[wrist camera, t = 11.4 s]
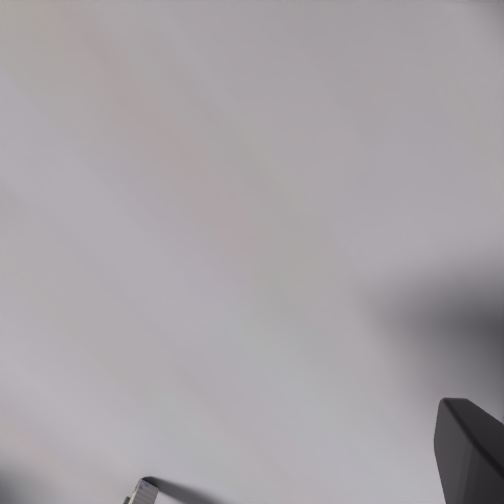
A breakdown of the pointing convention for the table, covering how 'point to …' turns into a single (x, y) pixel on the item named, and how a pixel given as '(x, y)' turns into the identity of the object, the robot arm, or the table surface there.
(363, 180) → the table surface
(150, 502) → the caliper
